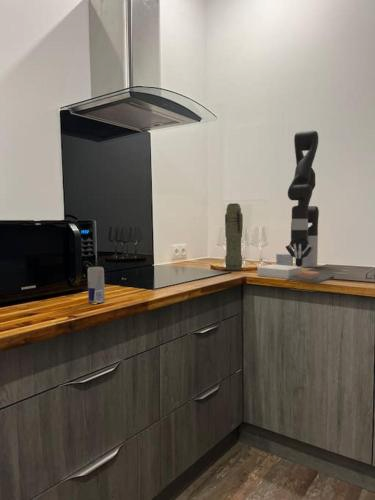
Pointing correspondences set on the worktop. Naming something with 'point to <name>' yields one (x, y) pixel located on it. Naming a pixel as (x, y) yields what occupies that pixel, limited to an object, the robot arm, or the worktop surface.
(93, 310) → the worktop surface
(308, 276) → the tile
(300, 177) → the robot arm
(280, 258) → the medicine box
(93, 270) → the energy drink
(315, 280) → the mat
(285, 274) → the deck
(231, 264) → the thermos
